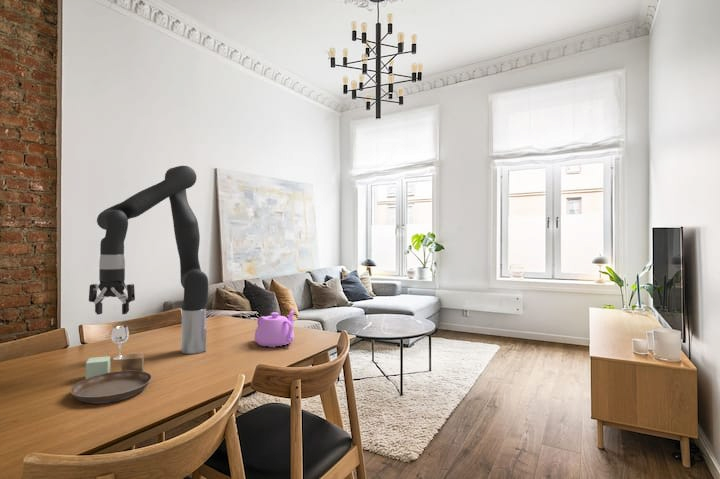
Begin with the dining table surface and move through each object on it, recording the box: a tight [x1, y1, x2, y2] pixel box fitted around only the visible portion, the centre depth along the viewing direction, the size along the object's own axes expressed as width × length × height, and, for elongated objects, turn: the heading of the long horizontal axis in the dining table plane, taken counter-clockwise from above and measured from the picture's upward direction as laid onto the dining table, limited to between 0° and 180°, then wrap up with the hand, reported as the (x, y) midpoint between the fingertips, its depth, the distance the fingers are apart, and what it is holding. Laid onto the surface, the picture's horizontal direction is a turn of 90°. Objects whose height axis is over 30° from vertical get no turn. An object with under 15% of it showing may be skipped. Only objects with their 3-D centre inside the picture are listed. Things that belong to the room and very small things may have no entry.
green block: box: [85, 355, 111, 379], centre depth 132 cm, size 6×6×6 cm
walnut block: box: [121, 352, 145, 372], centre depth 136 cm, size 6×6×6 cm
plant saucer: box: [70, 370, 153, 404], centre depth 120 cm, size 21×21×3 cm
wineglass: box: [110, 325, 130, 361], centre depth 152 cm, size 6×6×12 cm
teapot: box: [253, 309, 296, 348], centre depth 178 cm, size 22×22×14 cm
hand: (112, 314), depth 139 cm, fingers open, 8 cm apart
